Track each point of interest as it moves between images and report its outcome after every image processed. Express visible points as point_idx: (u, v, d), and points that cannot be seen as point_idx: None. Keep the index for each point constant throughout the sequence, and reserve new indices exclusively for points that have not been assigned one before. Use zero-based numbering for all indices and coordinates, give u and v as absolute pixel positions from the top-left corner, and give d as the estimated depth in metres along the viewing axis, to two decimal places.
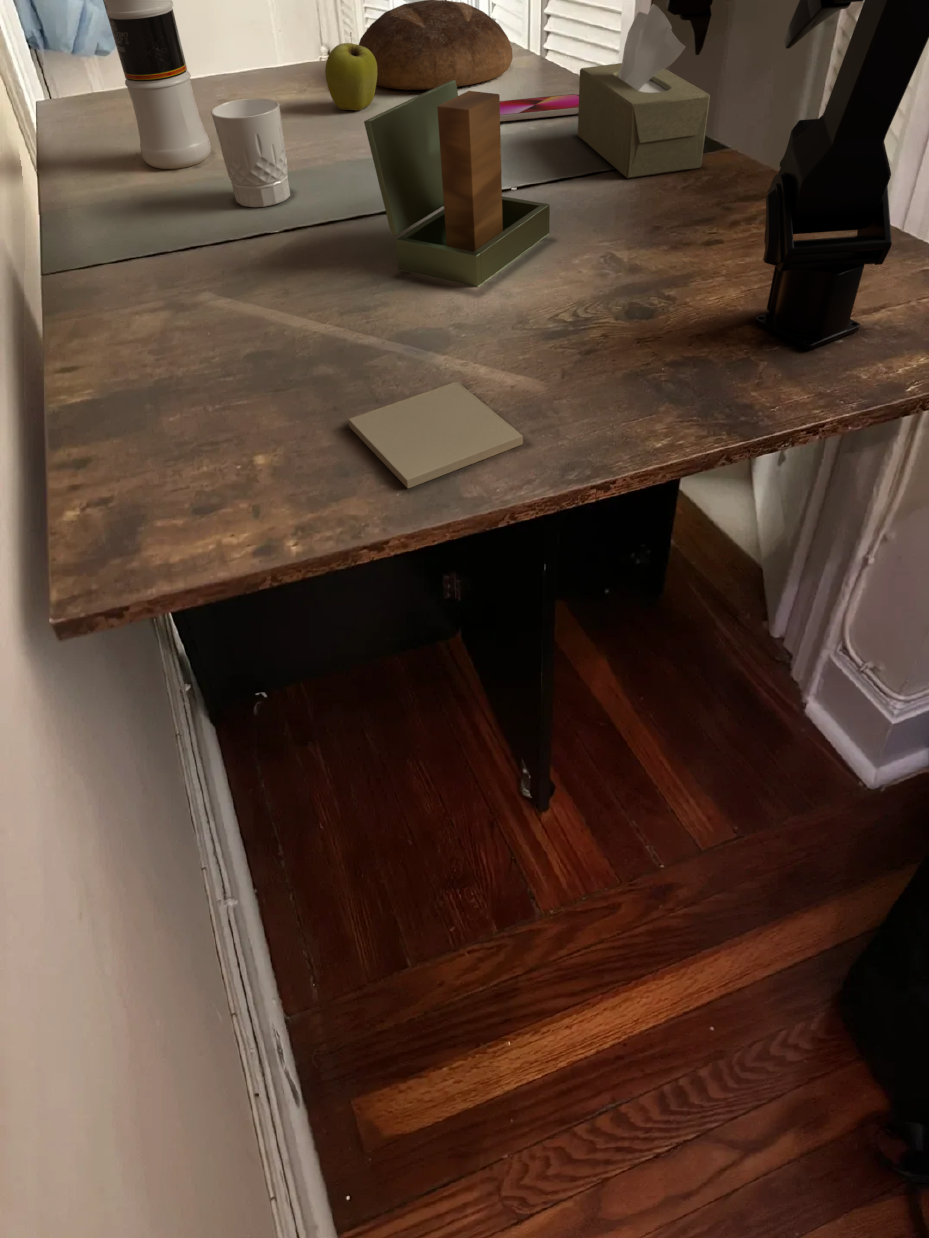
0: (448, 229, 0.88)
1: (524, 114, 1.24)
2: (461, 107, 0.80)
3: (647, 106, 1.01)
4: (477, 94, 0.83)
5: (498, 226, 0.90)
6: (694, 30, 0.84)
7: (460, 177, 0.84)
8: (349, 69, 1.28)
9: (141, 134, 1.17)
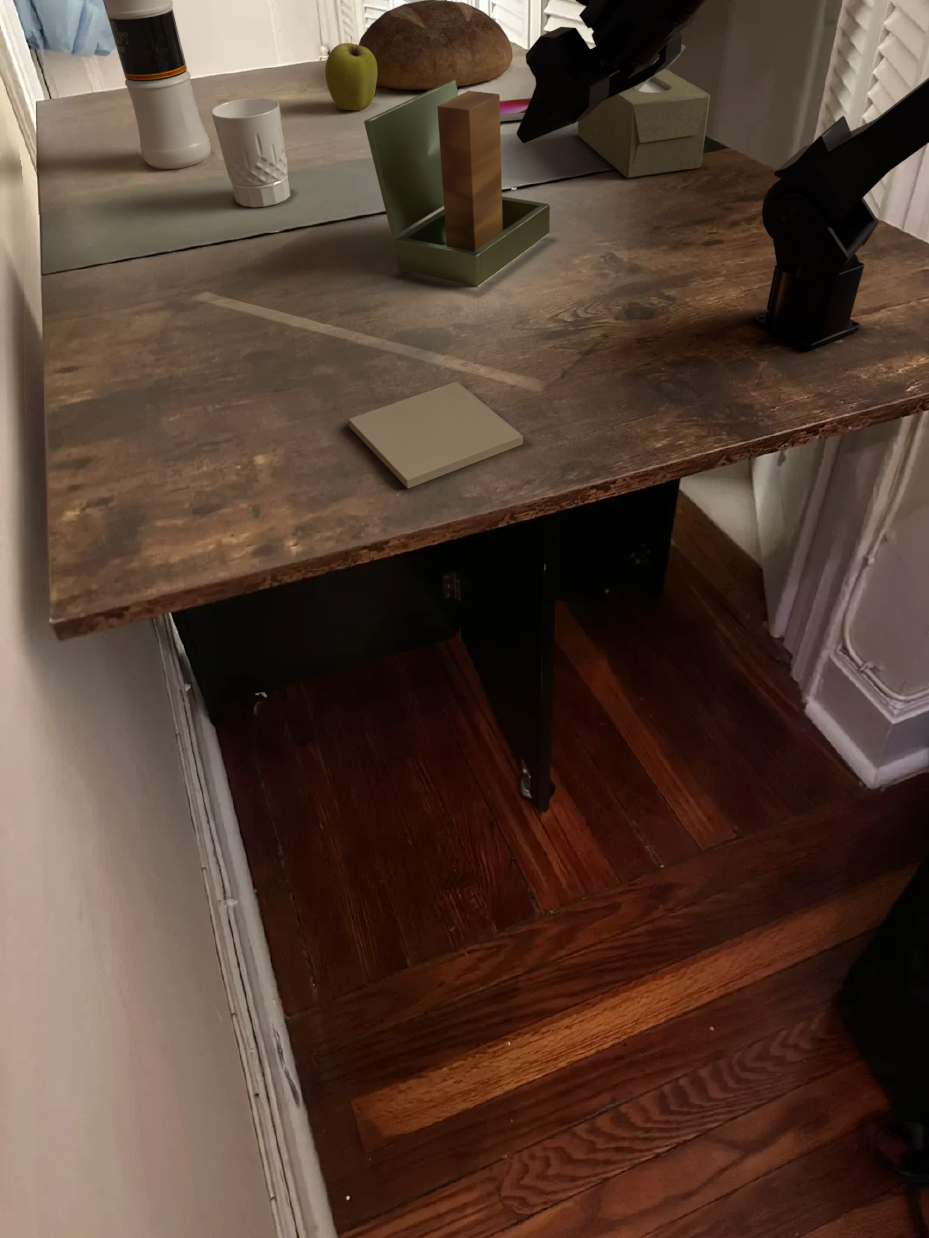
0: (448, 229, 0.88)
1: None
2: (461, 107, 0.80)
3: (647, 106, 1.01)
4: (477, 94, 0.83)
5: (498, 226, 0.90)
6: None
7: (460, 177, 0.84)
8: (349, 69, 1.28)
9: (141, 134, 1.17)
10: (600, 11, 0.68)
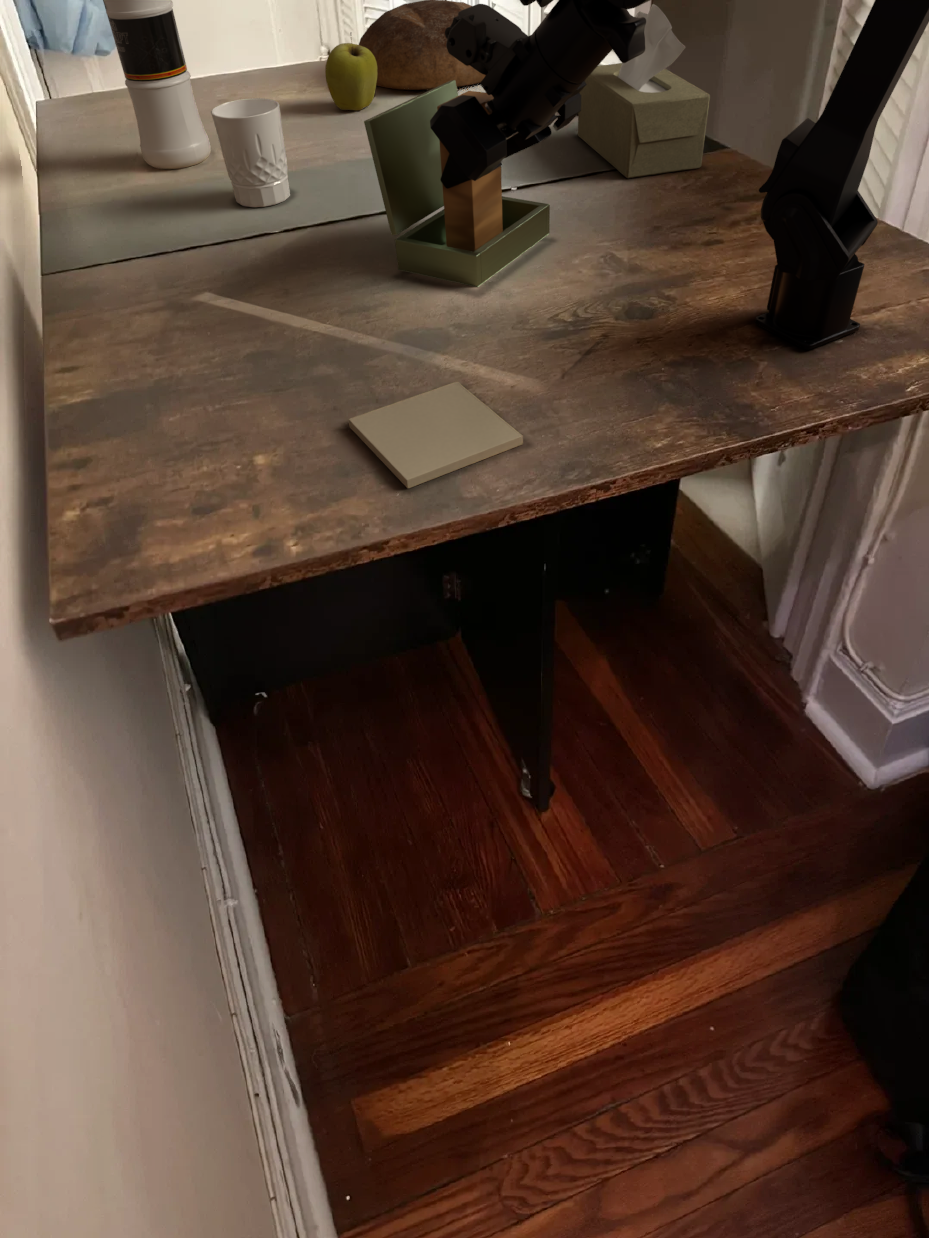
0: (448, 229, 0.88)
1: None
2: None
3: (647, 106, 1.01)
4: (477, 94, 0.83)
5: (498, 226, 0.90)
6: None
7: None
8: (349, 69, 1.28)
9: (141, 134, 1.17)
10: (497, 81, 0.76)
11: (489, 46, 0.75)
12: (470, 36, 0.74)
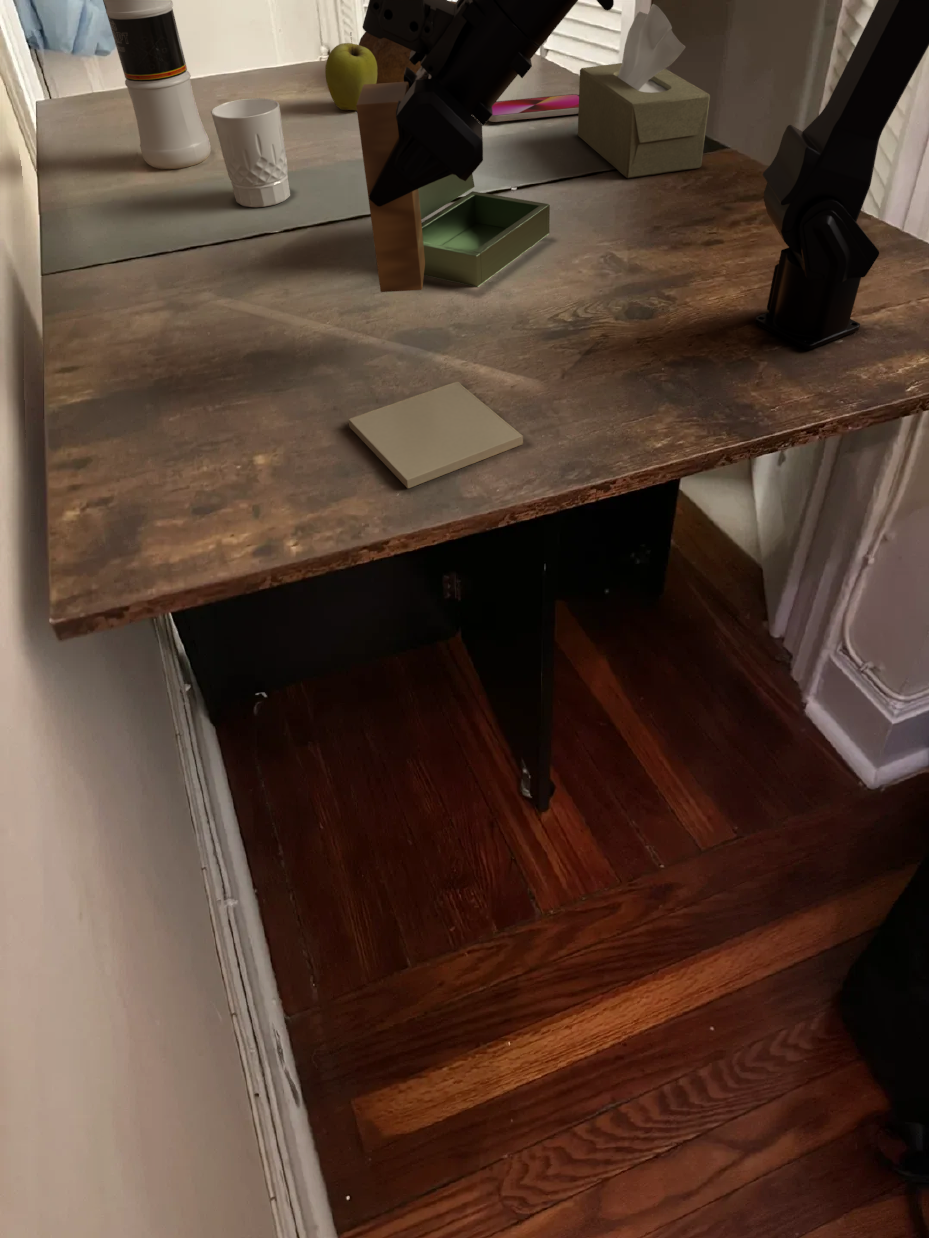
0: (380, 257, 0.71)
1: (524, 114, 1.24)
2: (389, 100, 0.64)
3: (647, 106, 1.01)
4: (382, 86, 0.66)
5: (422, 243, 0.75)
6: (433, 181, 0.65)
7: None
8: (349, 69, 1.28)
9: (141, 134, 1.17)
10: (446, 57, 0.61)
11: (433, 14, 0.59)
12: (415, 3, 0.58)
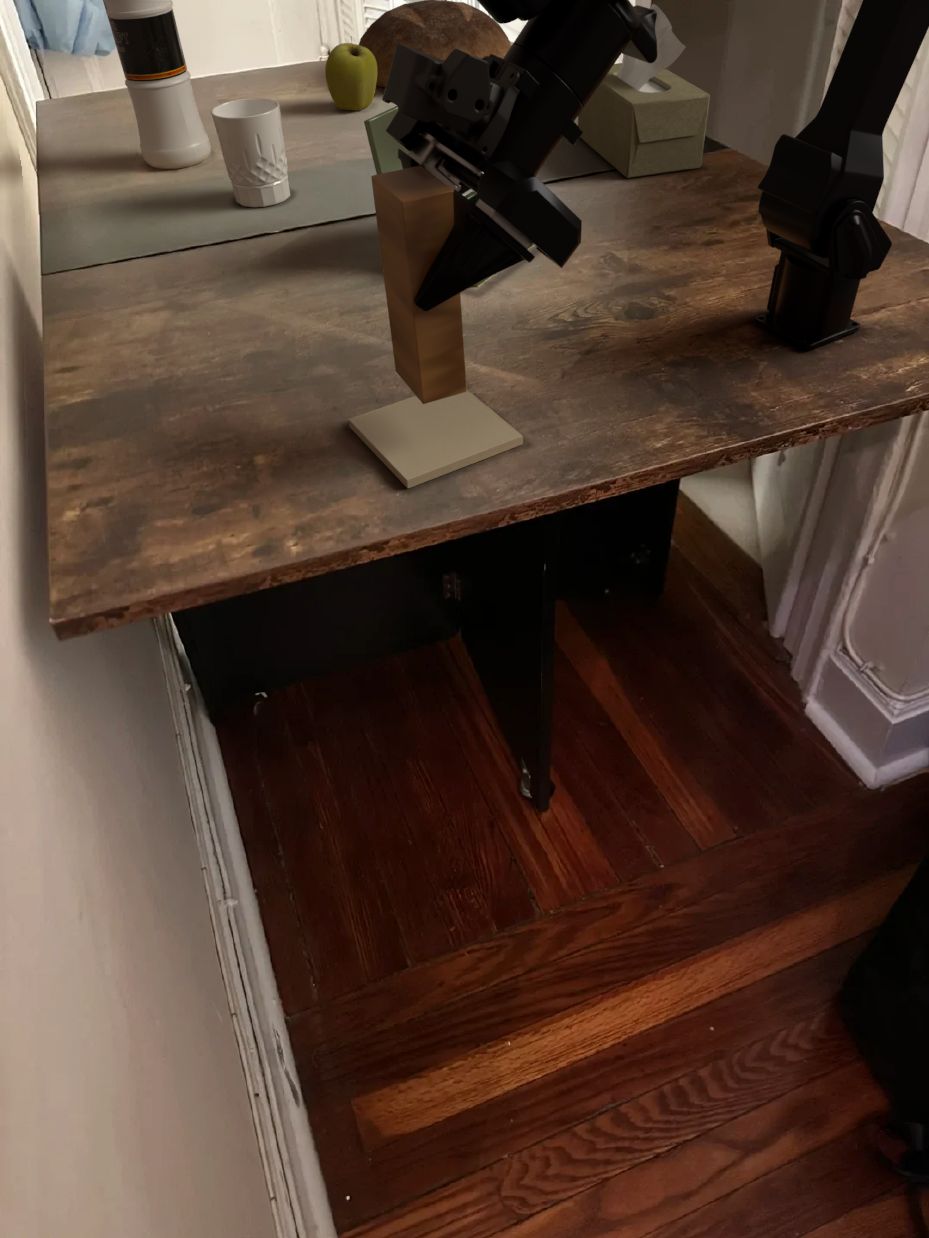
0: (424, 366, 0.61)
1: None
2: (434, 191, 0.54)
3: (647, 106, 1.01)
4: (398, 174, 0.56)
5: None
6: None
7: None
8: (349, 69, 1.28)
9: (141, 134, 1.17)
10: (501, 134, 0.53)
11: (490, 88, 0.51)
12: (482, 78, 0.49)
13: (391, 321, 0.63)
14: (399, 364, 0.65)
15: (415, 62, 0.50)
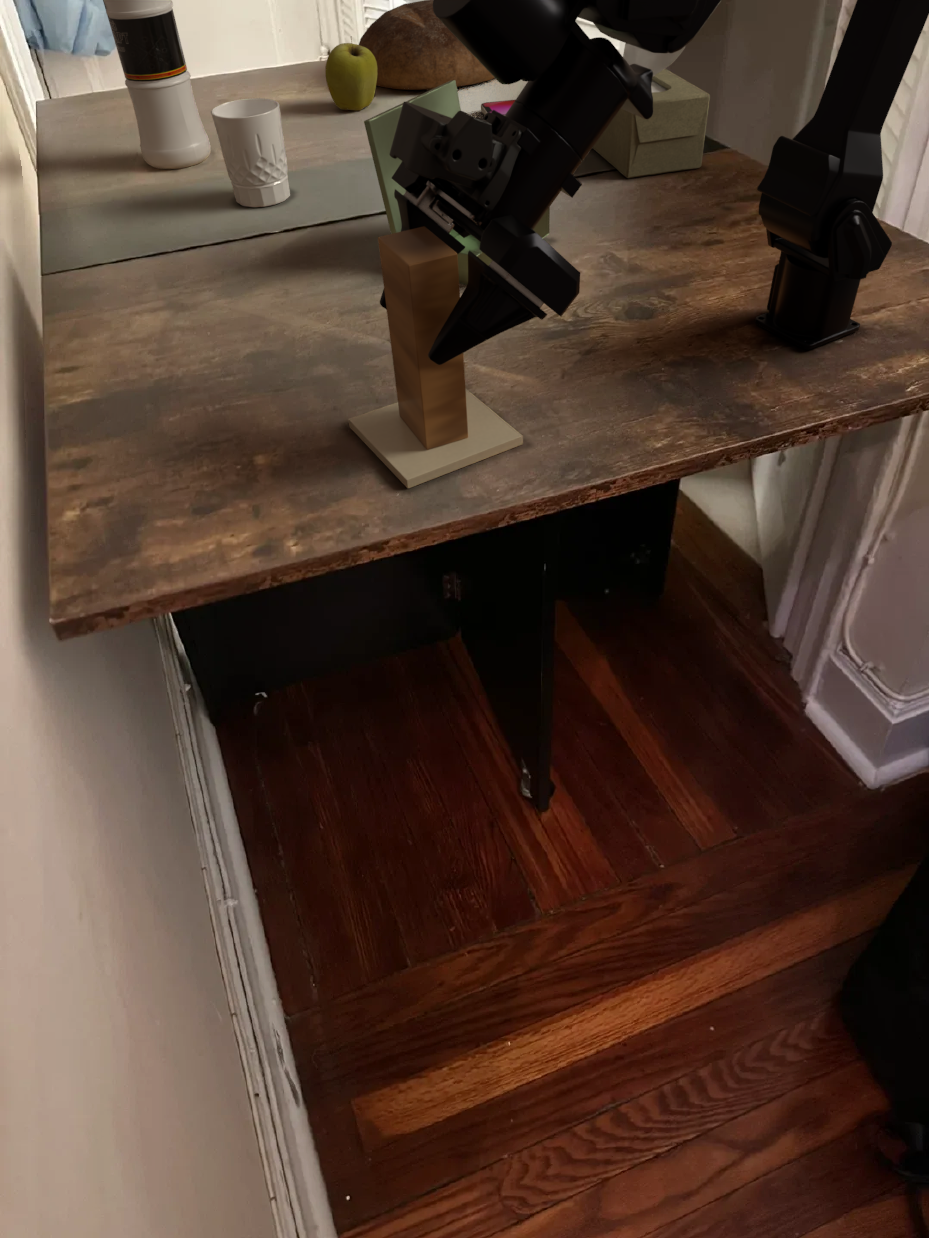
0: (428, 415, 0.64)
1: None
2: (439, 254, 0.57)
3: None
4: (404, 235, 0.59)
5: None
6: (508, 328, 0.58)
7: None
8: (349, 69, 1.28)
9: (141, 134, 1.17)
10: (503, 188, 0.55)
11: (493, 147, 0.53)
12: (485, 139, 0.51)
13: (396, 370, 0.66)
14: (403, 410, 0.68)
15: (421, 122, 0.52)
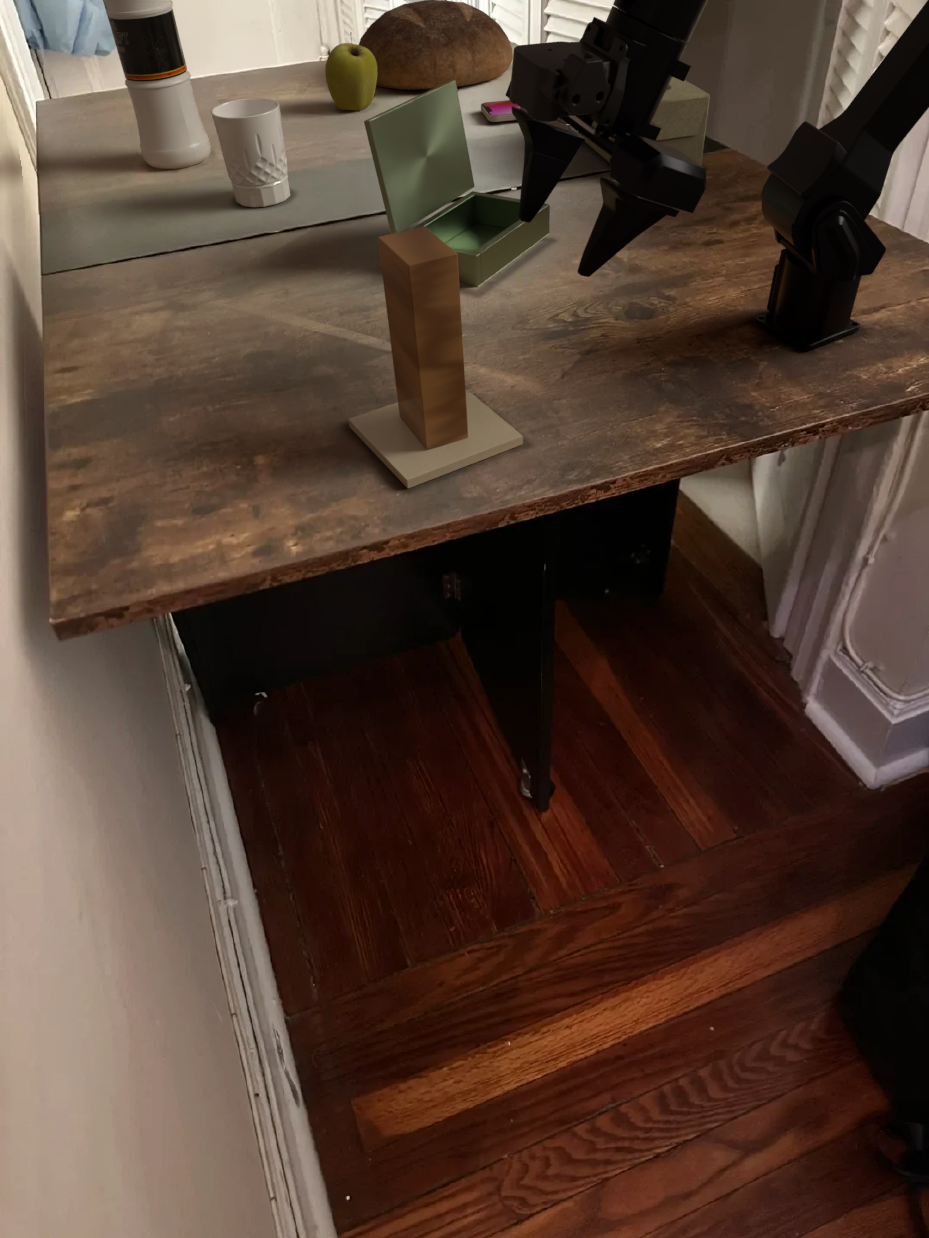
0: (428, 415, 0.64)
1: None
2: (439, 254, 0.57)
3: None
4: (404, 235, 0.59)
5: None
6: None
7: (445, 342, 0.60)
8: (349, 69, 1.28)
9: (141, 134, 1.17)
10: (620, 103, 0.59)
11: (605, 72, 0.57)
12: (599, 75, 0.56)
13: (396, 370, 0.66)
14: (403, 410, 0.68)
15: (537, 74, 0.57)
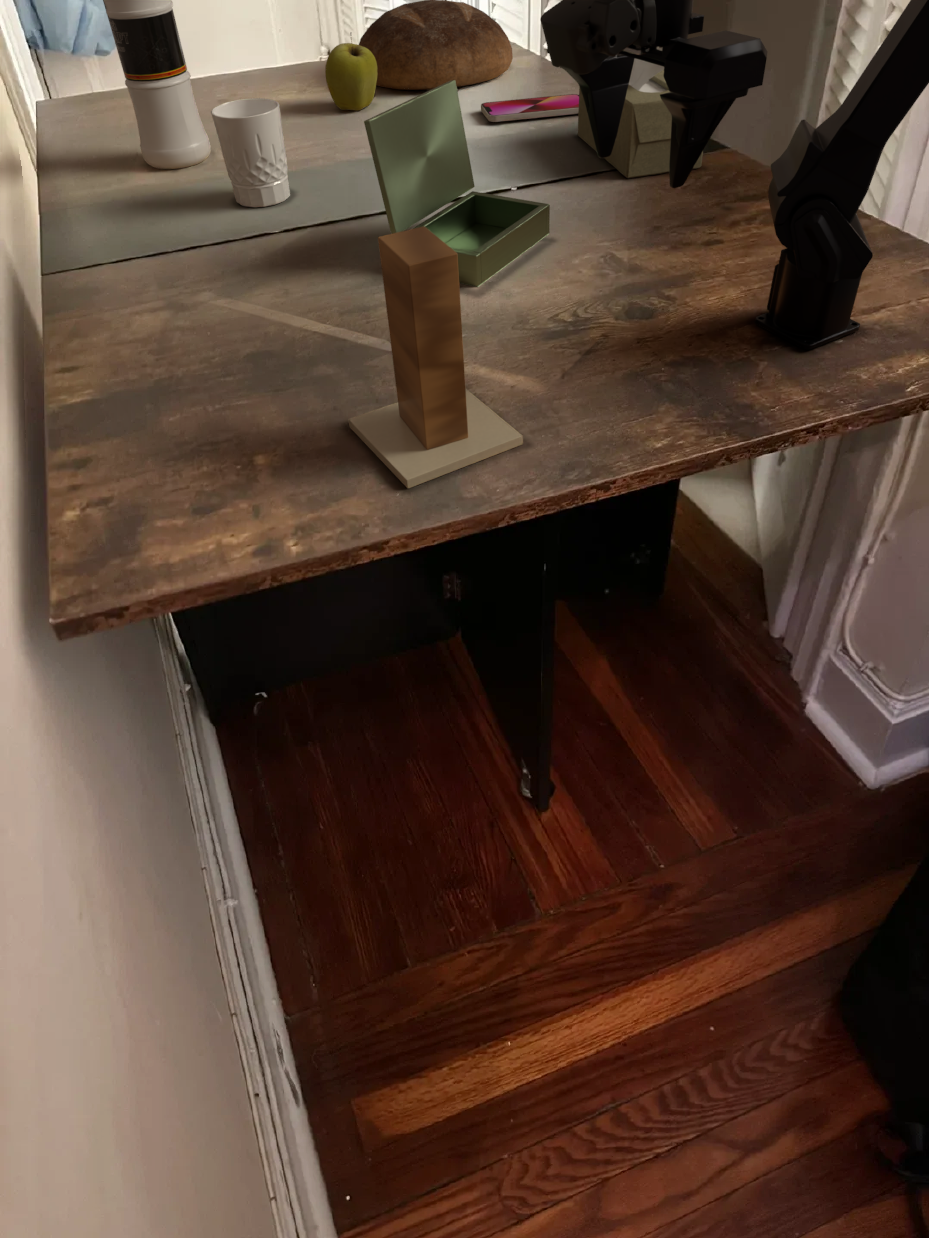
0: (428, 415, 0.64)
1: (524, 114, 1.24)
2: (439, 254, 0.57)
3: (647, 106, 1.01)
4: (404, 235, 0.59)
5: None
6: (721, 118, 0.64)
7: (445, 342, 0.60)
8: (349, 69, 1.28)
9: (141, 134, 1.17)
10: (655, 17, 0.61)
11: None
12: (626, 8, 0.58)
13: (396, 370, 0.66)
14: (403, 410, 0.68)
15: (569, 35, 0.60)
